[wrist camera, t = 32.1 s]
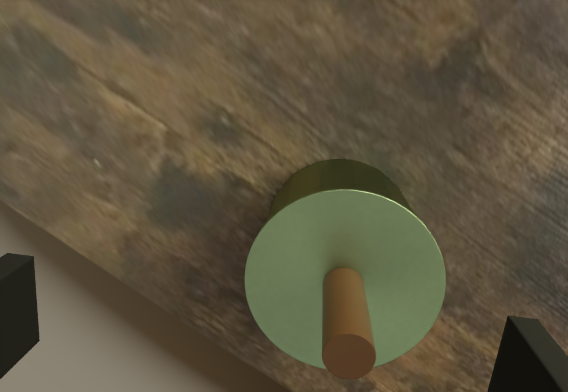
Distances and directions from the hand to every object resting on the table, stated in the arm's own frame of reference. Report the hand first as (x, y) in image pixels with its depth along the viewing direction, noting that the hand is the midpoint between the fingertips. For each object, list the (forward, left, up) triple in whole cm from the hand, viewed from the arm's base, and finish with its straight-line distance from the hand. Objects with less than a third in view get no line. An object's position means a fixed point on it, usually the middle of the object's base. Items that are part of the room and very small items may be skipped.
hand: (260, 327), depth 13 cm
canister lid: (+9, -5, -22) cm, 25 cm away
